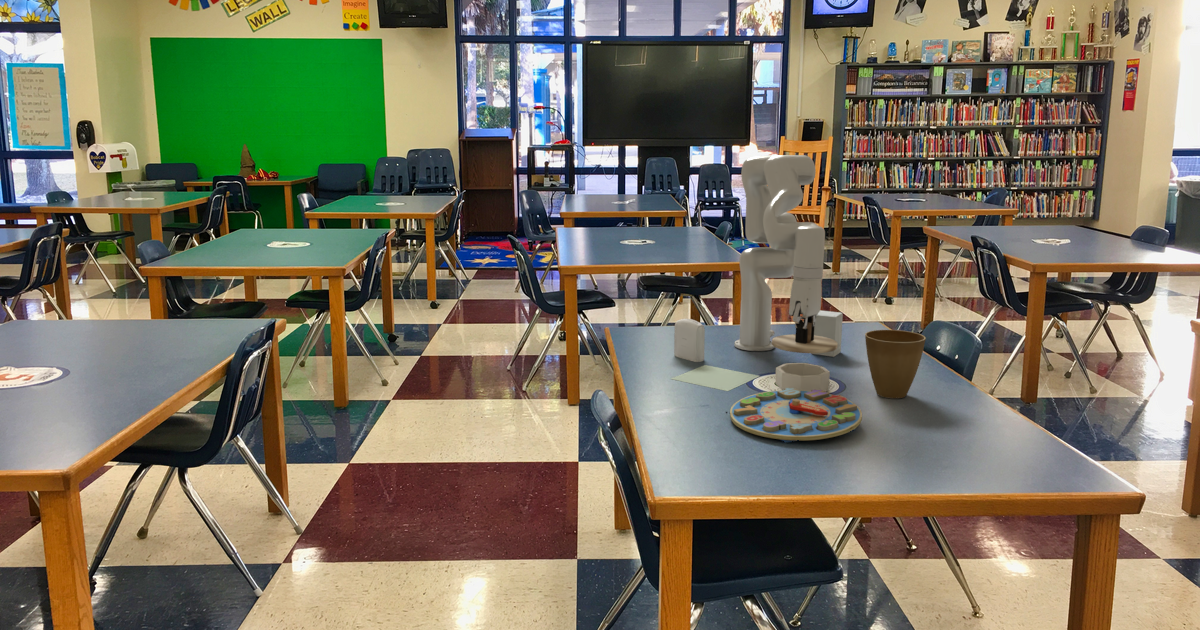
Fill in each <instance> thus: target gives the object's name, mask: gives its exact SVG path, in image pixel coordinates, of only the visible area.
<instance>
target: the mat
mask: <svg viewBox="0 0 1200 630" xmlns="http://www.w3.org/2000/svg"><path fill="white" fill-rule="evenodd" d="M759 377H761V375H759V374H752V373H748V372H744V371H743V372H741V371H737V370H733V369H728V368H727V369H726V368H721V367H717V366H712V365H706V364H704V365H701V366H699V367H696V368H695V369H694V368H693V369H691V370H689V371H687V372H685V373H682V374H679V375H677V376H674V377H672V378H670V380H672V381H673V380H674V381H677V382H683V383H688V384H691V385H692V384H693V385H697V386H701V387H704V388H705V387H706V388H710V389H715V390H720V391H724V392H730V391H731V390H734V389H736V388H738V387H741V386H742V385H744V384H746V383H749V382H751V381H753V380H755V379H757V378H759Z"/></svg>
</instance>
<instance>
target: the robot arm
mask: <svg viewBox="0 0 1200 630" xmlns="http://www.w3.org/2000/svg"><path fill="white" fill-rule="evenodd" d="M816 173H817V171H816V165H815V162H814V160H813V159H812V158H811V157H810V156H808V155H804V154H801V155H800V154H795V155H794V154H786V155H785V154H782V155H774V156H772V155H769V156H767V155H764V156H762V155H761V156H752V157H749V158H747V159H745V160H744V161H743V163H742V167H741V175H740V176H741V182H742V185H743V189H744V193H745V229H744V230H745V237H746V240H747V241H748V242H749V243H754V244H768V245H769V247H764V246H763V247H760V246H759V247H750V248H747V249H744V250H743V251H742V252H741V253H740V256H739V269H740V270H739V271H740V282H741V288H740V289H741V292H740V294H741V296H740V320H739V321H740V322H739V339H737V340H735V341H734V347H735V348H737V349H739V350H744V351H751V352H766V351H771V350H773V349H775V347H774V346H773V345H772V340H771V337H773V336H775V334H776V333H775V331H774V330H773V329H771V327H772V326H771V324H772V308H773V307H772V302H773V292H772V289H771V287H770V286H769V284H767V282H766V280H765V279H784V278H785V279H787V278H790V277H792V278H793V280H792V284H791V291H790V296H789V297H790V298H789V306H788V307H789V308H788V314H789V316H791V317H792V321H793V322H794V327H795V334H796V336H795V342H797V343H803V344H806V343H807V339H808V329H806V328H807V322H809V323H812V328H811V341H813V340H814V326H815V319H816V316H817V314H818V313H819V312H820V310H821V306H822V280H823V278H824V277H823V276H824V273H823V272H824V259H825V257H824V256H825V243H826V242H825V241H826V231H825V229H824V227H822V226H820V225H818V224H817V223H816V222H812V221H802V222H801V221H797V218H796V217H795V215H794V214H792V213H791V212H789V211H792V210H794V209H796V208H797V207H798V206H799V205H800V204H801V203H802V201H803V198H804V193H803V190H802V187H801V186H808V185H811V184H812V183H813V182H814V180H815V177H816ZM801 315H802V316H801Z"/></svg>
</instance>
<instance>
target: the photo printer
mask: <svg viewBox="0 0 1200 630" xmlns="http://www.w3.org/2000/svg"><path fill="white" fill-rule="evenodd" d="M705 331H706V329H705V326H704V325H703V324H702V323H701V322H699V321H697V320H695V319H692V318H681V319H678V320H676V322H675V324H674V334H673V335H674V338H673V339H674V343H673V344H674V348H673V349H674V350H673V353H674V354H673V356H674V357H676V358H679V359H683V360H687V361H691V362H695V363H700V362H704V360H705V340H706V339H705V338H706V337H705V336H706V335H705V334H706V333H705Z"/></svg>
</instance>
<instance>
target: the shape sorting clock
mask: <svg viewBox="0 0 1200 630" xmlns="http://www.w3.org/2000/svg"><path fill="white" fill-rule="evenodd" d="M729 417H730V421H732V423H733V425H735V426H736V427H738V428H739V429H741V430H743V431H745V432H747V433H750V434H753V435H755V436H759V437H764V438H768V439H776V440H780V441H782V442H783V441H784V442H783V443H786V442H787V443H792V441H793V442H798V441H797V440H799V441H817V440H824V439H829V438H834V437H838V436H842V435H845V434H847V433H851V432H853V431H852V430H854V431H856V429H857V427H859V425H860V424H861V423H862V420H863V413H862V409H861V408H860V407H859V406H858V404H856V403H854V402H853V401H851V400H849V399H848V398H847V397H845V396H843V395H841V394H837V395H835V394H831V393H829V392H827V391H823V390H821V389H820V390H816V389H814V390H811V391H803V390H797V389H795V388H785V389H784V390H782V389H780V390H771V391H770V390H769V391H764V392H763V391H762V392H759V393H754V394H751V395H747V396H745V397H743V398H741V399H739V400H737V401H736V402H734V403H733V404H732V405H731V407H730V409H729ZM850 431H851V432H850Z"/></svg>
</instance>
